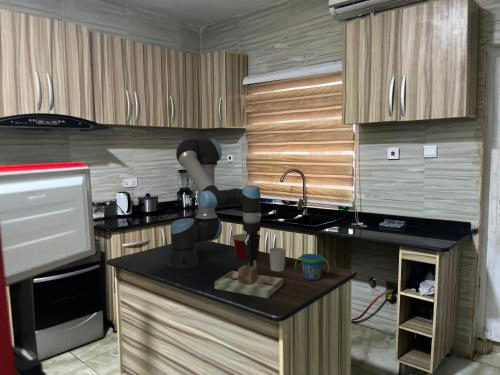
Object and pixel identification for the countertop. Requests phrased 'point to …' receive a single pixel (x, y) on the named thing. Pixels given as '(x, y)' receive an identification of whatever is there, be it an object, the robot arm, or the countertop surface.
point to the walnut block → (247, 275)
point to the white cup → (277, 259)
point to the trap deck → (254, 289)
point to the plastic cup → (240, 245)
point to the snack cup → (311, 265)
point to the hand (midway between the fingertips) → (252, 274)
